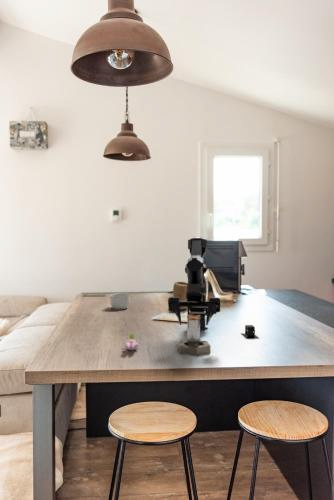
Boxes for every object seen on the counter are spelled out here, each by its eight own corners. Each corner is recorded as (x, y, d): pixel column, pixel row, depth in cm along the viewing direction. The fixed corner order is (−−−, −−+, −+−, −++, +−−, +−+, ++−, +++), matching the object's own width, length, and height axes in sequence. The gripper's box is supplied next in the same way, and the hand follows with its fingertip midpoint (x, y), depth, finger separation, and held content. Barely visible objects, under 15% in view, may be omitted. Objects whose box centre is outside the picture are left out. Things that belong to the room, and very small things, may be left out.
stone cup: (189, 311, 229) (189, 283, 229) (167, 310, 231) (167, 282, 231) (192, 306, 244) (192, 280, 244) (171, 306, 246) (171, 280, 246)
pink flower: (124, 348, 160) (121, 352, 145) (124, 332, 161) (121, 334, 146) (140, 348, 161) (139, 352, 146) (140, 332, 161) (139, 334, 146)
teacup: (132, 309, 236) (132, 294, 235) (112, 310, 232) (112, 296, 231) (125, 305, 249) (124, 291, 248) (106, 306, 245) (106, 292, 244)
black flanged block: (237, 333, 179) (237, 323, 179) (254, 333, 179) (254, 322, 179) (245, 341, 167) (245, 329, 166) (263, 340, 167) (263, 329, 167)
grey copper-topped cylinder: (185, 349, 153) (185, 314, 152) (197, 348, 154) (197, 313, 154) (190, 353, 148) (190, 317, 148) (202, 351, 150) (202, 316, 149)
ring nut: (170, 350, 152) (170, 343, 152) (197, 344, 159) (197, 338, 159) (189, 357, 143) (189, 349, 143) (216, 351, 150) (216, 344, 150)
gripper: (168, 274, 156) (164, 310, 145) (220, 275, 153) (220, 311, 143) (170, 293, 164) (167, 328, 153) (220, 294, 162) (220, 329, 151)
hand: (193, 324), depth 150 cm, fingers open, 9 cm apart
